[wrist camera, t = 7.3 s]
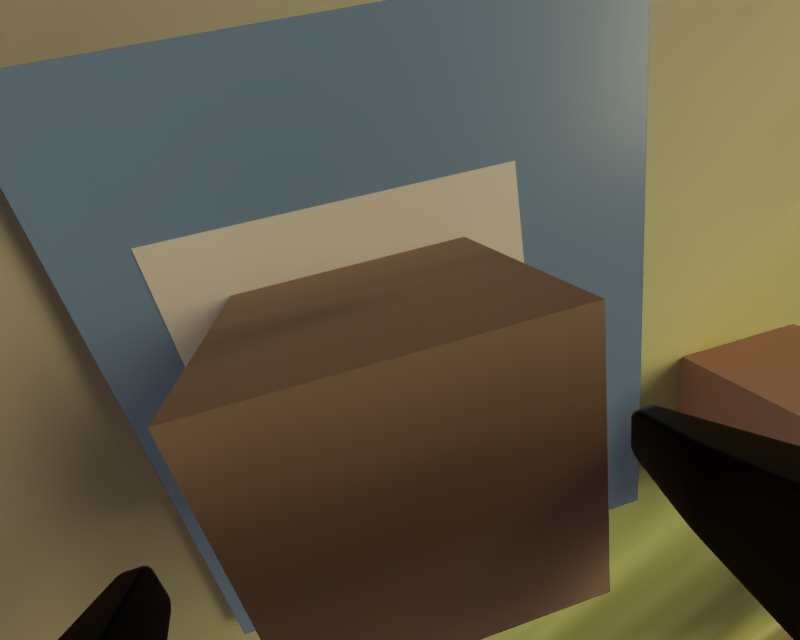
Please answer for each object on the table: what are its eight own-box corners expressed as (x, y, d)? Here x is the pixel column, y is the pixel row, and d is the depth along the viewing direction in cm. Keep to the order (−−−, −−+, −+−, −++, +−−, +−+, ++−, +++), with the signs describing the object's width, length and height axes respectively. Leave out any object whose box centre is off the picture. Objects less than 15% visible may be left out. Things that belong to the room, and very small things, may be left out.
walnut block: (491, 424, 14) (610, 591, 8) (302, 483, 13) (297, 707, 8) (464, 236, 12) (604, 298, 6) (231, 295, 11) (147, 427, 5)
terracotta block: (772, 425, 18) (927, 510, 14) (673, 457, 18) (800, 558, 13) (791, 323, 16) (977, 383, 12) (680, 356, 16) (830, 431, 11)
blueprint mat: (623, 485, 18) (638, 500, 17) (248, 612, 16) (244, 635, 15) (627, -32, 11) (652, -47, 10) (-29, 86, 9) (-61, 78, 8)
